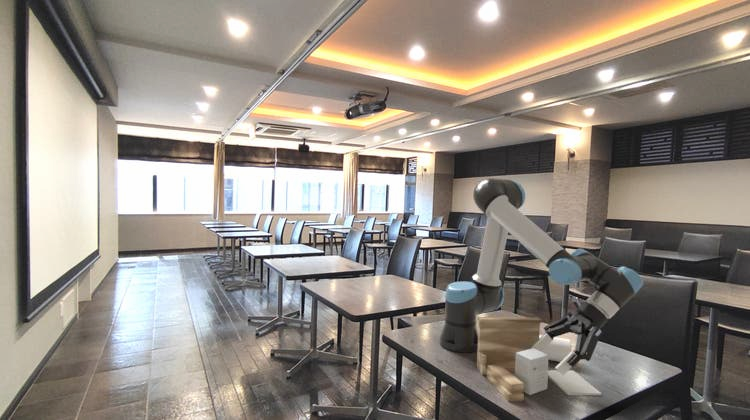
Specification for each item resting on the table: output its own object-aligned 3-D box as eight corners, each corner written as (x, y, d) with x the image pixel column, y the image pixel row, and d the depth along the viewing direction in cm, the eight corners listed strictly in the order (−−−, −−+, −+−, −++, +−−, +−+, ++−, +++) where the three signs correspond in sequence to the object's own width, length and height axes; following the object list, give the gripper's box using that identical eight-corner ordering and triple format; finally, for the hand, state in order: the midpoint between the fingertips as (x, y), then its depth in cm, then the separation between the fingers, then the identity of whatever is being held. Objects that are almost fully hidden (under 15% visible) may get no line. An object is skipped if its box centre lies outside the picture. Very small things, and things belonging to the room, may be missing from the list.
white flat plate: (543, 372, 118) (543, 370, 118) (572, 372, 119) (572, 370, 119) (567, 395, 104) (567, 393, 104) (601, 395, 105) (601, 393, 105)
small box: (531, 380, 112) (533, 347, 112) (547, 389, 107) (549, 354, 107) (513, 386, 109) (515, 352, 108) (529, 395, 104) (531, 359, 103)
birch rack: (476, 367, 120) (477, 316, 120) (536, 367, 121) (538, 317, 121) (480, 374, 116) (482, 321, 115) (543, 374, 117) (545, 322, 116)
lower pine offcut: (486, 378, 114) (486, 370, 114) (500, 377, 115) (500, 370, 115) (508, 403, 100) (508, 394, 100) (523, 402, 101) (523, 393, 101)
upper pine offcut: (487, 372, 113) (487, 365, 113) (498, 371, 114) (498, 364, 114) (511, 393, 101) (511, 384, 101) (523, 391, 102) (523, 383, 102)
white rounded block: (571, 367, 122) (572, 344, 122) (538, 362, 126) (539, 339, 126) (566, 353, 134) (567, 332, 133) (537, 349, 137) (538, 328, 137)
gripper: (638, 335, 95) (580, 391, 95) (579, 306, 120) (533, 351, 119) (619, 315, 95) (561, 371, 94) (564, 290, 119) (518, 335, 119)
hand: (546, 360), depth 107 cm, fingers open, 13 cm apart
